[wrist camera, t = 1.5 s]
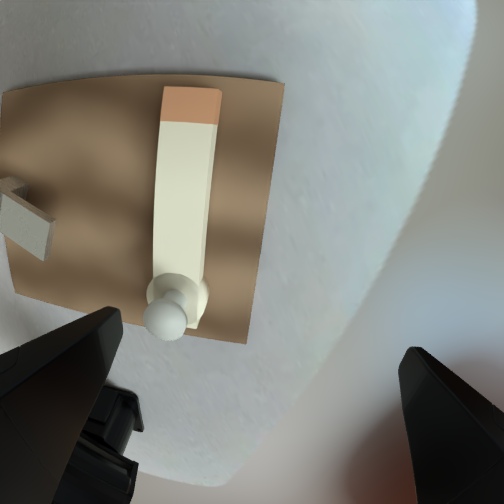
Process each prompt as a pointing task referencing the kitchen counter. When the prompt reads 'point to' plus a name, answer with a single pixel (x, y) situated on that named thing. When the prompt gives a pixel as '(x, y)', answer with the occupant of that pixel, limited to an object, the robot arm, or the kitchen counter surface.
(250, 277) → the base plate
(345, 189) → the kitchen counter surface
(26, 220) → the block
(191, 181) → the bar
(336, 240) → the kitchen counter surface
